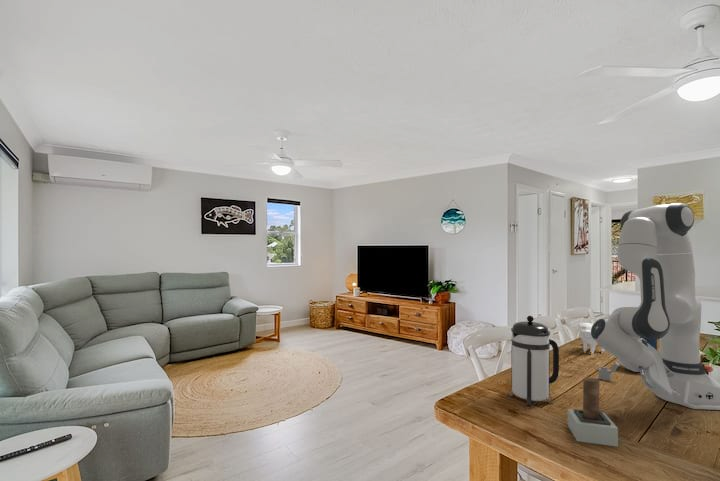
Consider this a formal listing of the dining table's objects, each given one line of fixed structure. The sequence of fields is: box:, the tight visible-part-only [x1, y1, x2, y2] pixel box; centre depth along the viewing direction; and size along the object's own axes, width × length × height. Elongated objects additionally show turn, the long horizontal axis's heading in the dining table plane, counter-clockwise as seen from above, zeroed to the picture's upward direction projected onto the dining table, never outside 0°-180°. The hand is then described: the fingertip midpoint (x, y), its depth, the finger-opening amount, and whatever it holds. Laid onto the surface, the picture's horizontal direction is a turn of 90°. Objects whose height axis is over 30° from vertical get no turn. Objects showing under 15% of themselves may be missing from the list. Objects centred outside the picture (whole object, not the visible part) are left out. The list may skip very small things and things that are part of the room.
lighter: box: [598, 361, 620, 382], centre depth 154 cm, size 7×2×8 cm, turn 56°
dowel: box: [582, 377, 600, 420], centre depth 109 cm, size 4×4×16 cm
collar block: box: [567, 408, 619, 448], centre depth 108 cm, size 10×10×6 cm
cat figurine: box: [578, 321, 606, 354], centre depth 197 cm, size 25×10×17 cm, turn 135°
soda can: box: [639, 337, 658, 351], centre depth 191 cm, size 7×7×12 cm
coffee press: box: [507, 315, 560, 408], centre depth 135 cm, size 17×16×30 cm
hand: (674, 385), depth 123 cm, fingers open, 8 cm apart
